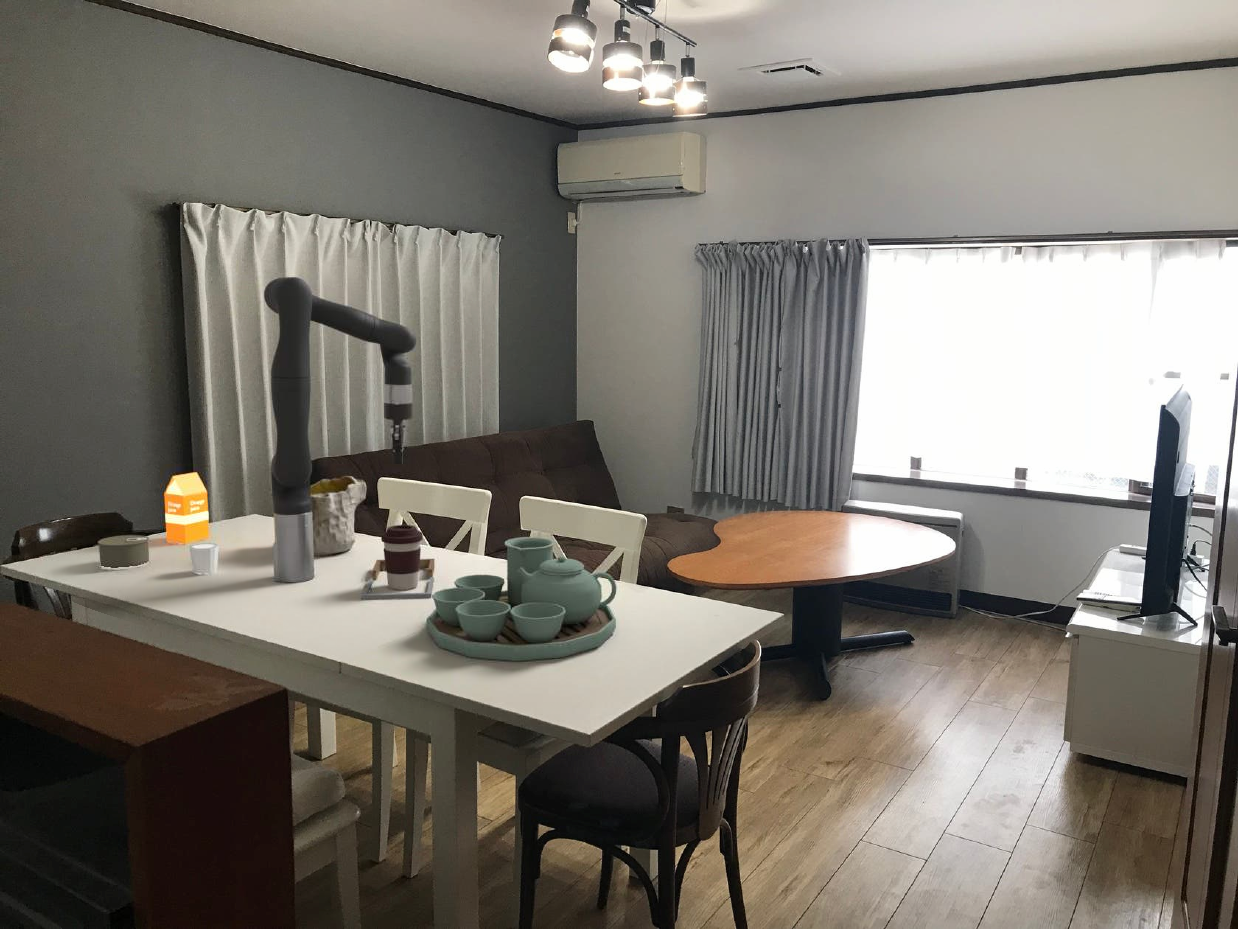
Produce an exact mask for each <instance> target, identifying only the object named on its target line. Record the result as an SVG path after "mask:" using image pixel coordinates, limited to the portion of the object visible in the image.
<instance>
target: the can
mask: <svg viewBox="0 0 1238 929" xmlns="http://www.w3.org/2000/svg"><path fill="white" fill-rule="evenodd" d="M149 540H150V538H149V536H146V535H140V534H126V535H124V534H123V535H115V536H111V537H110V536H108V537H105V538H102V539H99V540H98V541H97V545H98V552H99V563H100V565H101V566H104V567H111V568H118V567H129V566H138V565H141V564H144V563H147V562H148V561H149V562H150V551H149V548H150V547H149Z"/></svg>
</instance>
